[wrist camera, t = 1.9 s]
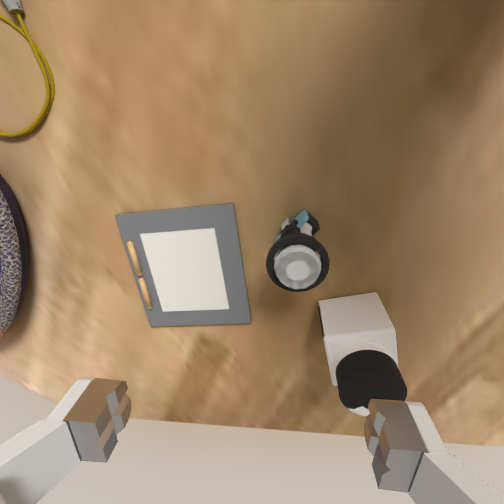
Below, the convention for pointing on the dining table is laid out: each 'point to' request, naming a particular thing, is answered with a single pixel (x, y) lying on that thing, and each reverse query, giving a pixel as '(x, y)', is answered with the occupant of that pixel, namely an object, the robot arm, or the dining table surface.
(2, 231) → the dish
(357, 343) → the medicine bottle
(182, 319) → the grey board
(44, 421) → the robot arm
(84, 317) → the dining table surface
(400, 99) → the dining table surface
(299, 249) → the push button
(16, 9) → the extension cord
